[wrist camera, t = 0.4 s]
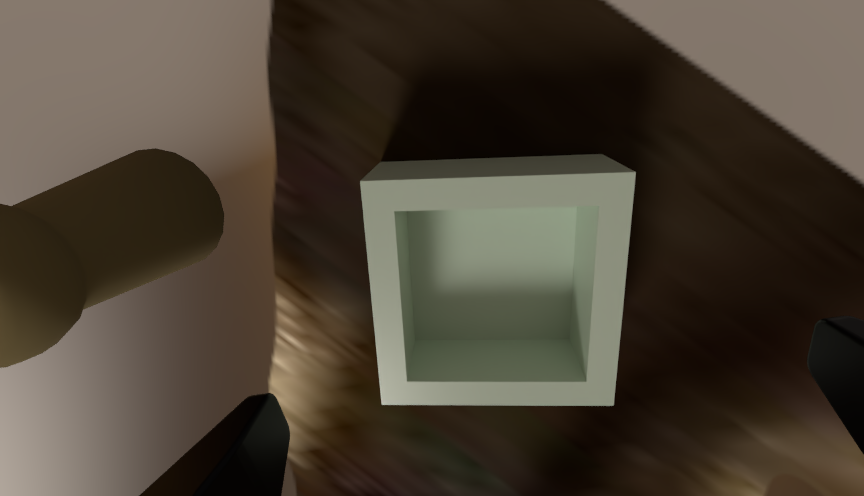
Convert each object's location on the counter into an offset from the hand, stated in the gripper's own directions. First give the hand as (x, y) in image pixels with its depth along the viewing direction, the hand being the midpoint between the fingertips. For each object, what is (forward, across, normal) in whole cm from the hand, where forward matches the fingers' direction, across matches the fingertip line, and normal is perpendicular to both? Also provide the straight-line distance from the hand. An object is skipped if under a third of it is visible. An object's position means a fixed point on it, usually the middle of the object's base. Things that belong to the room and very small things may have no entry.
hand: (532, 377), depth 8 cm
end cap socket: (+14, 0, +6) cm, 15 cm away
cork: (+16, +16, +1) cm, 22 cm away
